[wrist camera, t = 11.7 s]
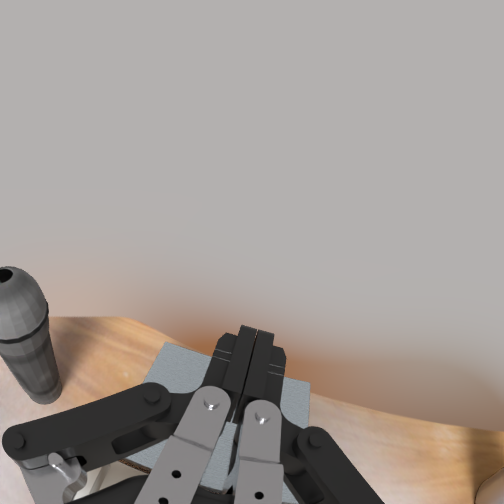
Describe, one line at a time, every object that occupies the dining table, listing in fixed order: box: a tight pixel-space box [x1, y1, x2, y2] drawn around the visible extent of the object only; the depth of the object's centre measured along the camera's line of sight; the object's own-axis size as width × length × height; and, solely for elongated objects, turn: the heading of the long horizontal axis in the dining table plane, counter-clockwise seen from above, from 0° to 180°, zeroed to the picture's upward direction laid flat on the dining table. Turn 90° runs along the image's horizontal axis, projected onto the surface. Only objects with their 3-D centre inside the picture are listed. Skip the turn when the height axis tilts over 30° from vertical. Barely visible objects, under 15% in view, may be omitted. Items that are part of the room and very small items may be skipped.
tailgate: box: [121, 342, 310, 504], centre depth 24 cm, size 2×16×14 cm
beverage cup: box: [0, 266, 62, 404], centre depth 20 cm, size 7×7×20 cm
